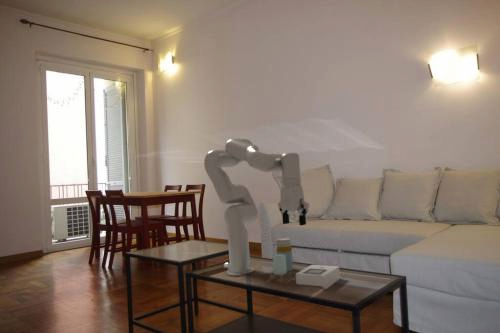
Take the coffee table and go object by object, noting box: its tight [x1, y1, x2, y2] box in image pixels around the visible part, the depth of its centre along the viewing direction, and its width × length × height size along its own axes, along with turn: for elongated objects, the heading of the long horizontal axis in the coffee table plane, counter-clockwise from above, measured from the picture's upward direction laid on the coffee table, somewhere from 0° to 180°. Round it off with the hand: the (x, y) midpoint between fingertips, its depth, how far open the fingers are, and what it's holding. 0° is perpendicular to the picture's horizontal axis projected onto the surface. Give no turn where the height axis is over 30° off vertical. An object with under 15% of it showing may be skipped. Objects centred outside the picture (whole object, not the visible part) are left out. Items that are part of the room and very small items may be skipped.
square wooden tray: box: [266, 271, 296, 284], centre depth 161 cm, size 10×8×4 cm
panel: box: [295, 264, 341, 290], centre depth 156 cm, size 12×16×5 cm
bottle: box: [275, 237, 294, 272], centre depth 178 cm, size 7×7×15 cm
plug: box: [272, 254, 287, 276], centre depth 161 cm, size 4×4×10 cm
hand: (294, 224), depth 161 cm, fingers open, 9 cm apart
